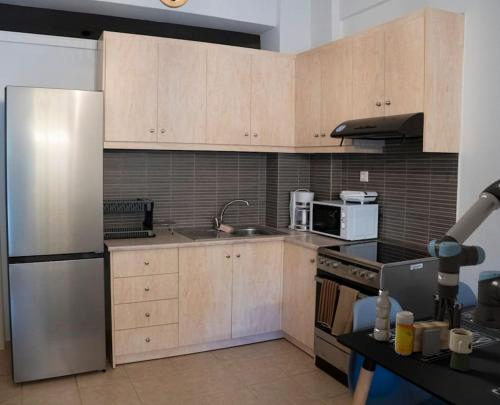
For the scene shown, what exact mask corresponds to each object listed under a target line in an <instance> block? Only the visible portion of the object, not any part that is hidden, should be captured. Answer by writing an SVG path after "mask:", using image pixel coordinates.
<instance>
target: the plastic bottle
mask: <svg viewBox="0 0 500 405" xmlns="http://www.w3.org/2000/svg"><path fill="white" fill-rule="evenodd" d="M389 296H390V293H389V290H388V289H385V288H383V289H382V288H381V289H380V288H379V290H378V297H377V299H376V300H375V301H374V308H375V324H374V329H373V337H374V339H375V340H377V341H380V342H387V341H389V340H390V339H391V336H392V334H391V325H390V324H391V321H390V319H391V311H392V306H393V305H392V301H391V299H390V298H389Z"/></svg>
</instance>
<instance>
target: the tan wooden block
mask: <svg viewBox="0 0 500 405" xmlns="http://www.w3.org/2000/svg"><path fill="white" fill-rule="evenodd" d="M448 328H449V321H448V320H443V321H441V322H436V321H432V322H425V323H415V324H413V343H412V352H414V353H417V352H418V353H419V352H422V341H423V331H425V330H433V329H440V330H441V335H440V350H446V349H450V347H449V346H447V329H448Z"/></svg>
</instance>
